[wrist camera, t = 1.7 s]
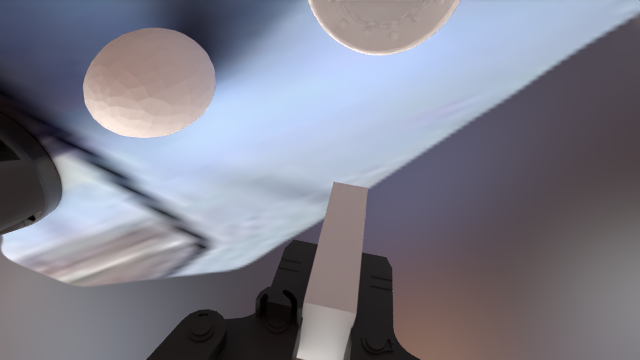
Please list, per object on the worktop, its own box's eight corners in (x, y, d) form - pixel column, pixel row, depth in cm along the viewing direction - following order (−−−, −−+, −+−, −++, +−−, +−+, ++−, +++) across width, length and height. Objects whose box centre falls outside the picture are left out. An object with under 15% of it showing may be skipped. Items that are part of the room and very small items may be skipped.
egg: (244, 100, 31) (179, 160, 21) (173, 110, 33) (82, 170, 23) (218, 12, 28) (126, 33, 18) (139, 28, 29) (15, 56, 19)
